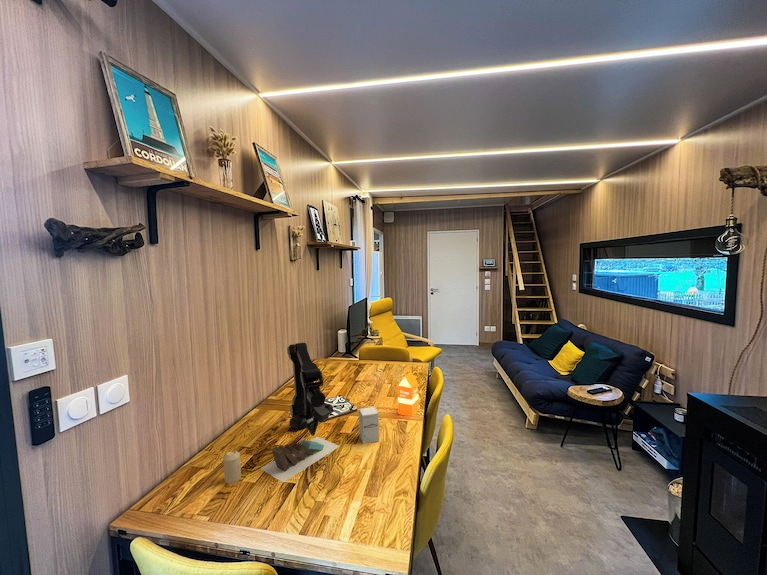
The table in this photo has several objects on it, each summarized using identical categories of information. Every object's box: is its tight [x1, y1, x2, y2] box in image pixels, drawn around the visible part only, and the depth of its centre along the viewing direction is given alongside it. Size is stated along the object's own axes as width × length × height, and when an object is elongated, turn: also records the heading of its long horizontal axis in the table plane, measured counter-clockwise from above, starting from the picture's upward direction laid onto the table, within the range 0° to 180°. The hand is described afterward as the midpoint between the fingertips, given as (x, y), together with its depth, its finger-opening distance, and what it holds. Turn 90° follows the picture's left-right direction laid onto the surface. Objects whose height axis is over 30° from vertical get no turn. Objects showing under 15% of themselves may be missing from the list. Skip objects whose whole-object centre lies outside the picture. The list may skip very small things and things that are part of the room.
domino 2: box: [277, 445, 298, 466], centre depth 123 cm, size 2×5×8 cm
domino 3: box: [284, 444, 307, 460], centre depth 126 cm, size 2×5×8 cm
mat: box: [260, 436, 341, 483], centre depth 128 cm, size 14×28×1 cm, turn 143°
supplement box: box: [358, 406, 380, 444], centre depth 141 cm, size 7×7×13 cm
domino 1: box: [271, 446, 289, 472], centre depth 120 cm, size 2×5×8 cm, turn 53°
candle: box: [222, 449, 242, 485], centre depth 116 cm, size 6×6×10 cm
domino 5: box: [300, 439, 324, 450], centre depth 132 cm, size 2×5×8 cm
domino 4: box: [291, 442, 315, 455], centre depth 129 cm, size 2×5×8 cm
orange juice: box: [397, 371, 420, 417], centre depth 166 cm, size 8×9×20 cm
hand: (313, 435), depth 133 cm, fingers closed
